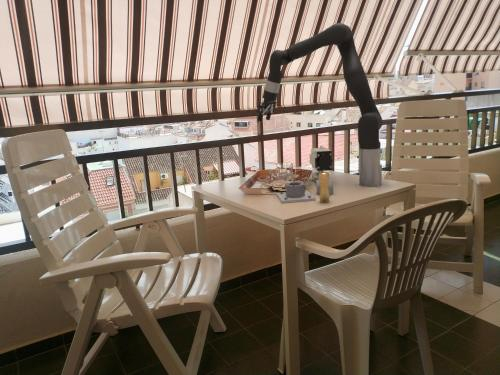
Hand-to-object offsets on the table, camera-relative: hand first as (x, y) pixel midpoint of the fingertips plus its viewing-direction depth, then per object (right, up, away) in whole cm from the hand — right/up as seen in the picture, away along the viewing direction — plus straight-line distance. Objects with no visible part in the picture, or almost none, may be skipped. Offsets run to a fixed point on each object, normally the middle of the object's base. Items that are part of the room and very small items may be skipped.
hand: (263, 120), depth 201 cm
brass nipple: (+23, -42, -47) cm, 67 cm away
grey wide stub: (+26, -38, -34) cm, 58 cm away
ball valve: (+29, -33, -10) cm, 44 cm away
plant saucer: (+11, -36, -20) cm, 43 cm away
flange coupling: (+12, -40, -38) cm, 57 cm away
